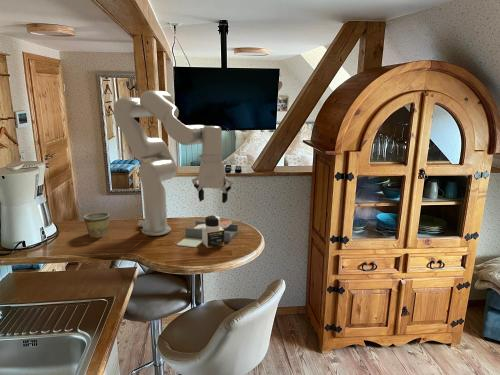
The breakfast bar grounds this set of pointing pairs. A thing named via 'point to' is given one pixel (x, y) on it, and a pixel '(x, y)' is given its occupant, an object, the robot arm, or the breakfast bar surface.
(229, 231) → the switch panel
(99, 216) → the ceramic cup
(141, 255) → the breakfast bar surface
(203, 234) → the medicine bottle
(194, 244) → the sage mat
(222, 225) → the rocker
